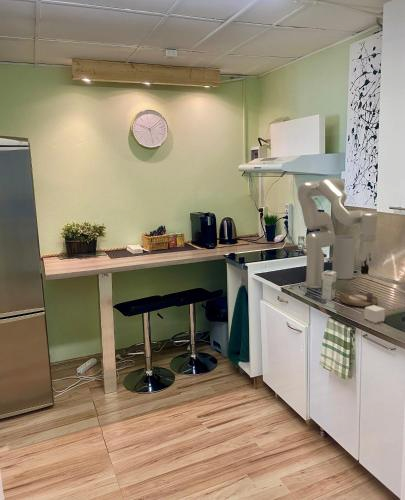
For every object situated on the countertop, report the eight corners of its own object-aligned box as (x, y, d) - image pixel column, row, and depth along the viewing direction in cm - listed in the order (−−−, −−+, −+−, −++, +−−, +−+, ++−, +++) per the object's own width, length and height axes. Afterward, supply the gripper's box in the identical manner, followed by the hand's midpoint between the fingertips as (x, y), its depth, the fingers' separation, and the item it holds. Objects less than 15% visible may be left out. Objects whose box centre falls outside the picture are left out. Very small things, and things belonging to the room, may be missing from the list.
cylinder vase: (327, 276, 260) (329, 236, 255) (343, 273, 265) (345, 234, 260) (342, 281, 249) (344, 240, 244) (357, 278, 254) (360, 237, 249)
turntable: (357, 292, 224) (357, 282, 223) (385, 302, 208) (386, 291, 207) (332, 298, 216) (332, 288, 215) (359, 308, 200) (360, 297, 199)
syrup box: (324, 295, 223) (325, 269, 220) (335, 298, 219) (336, 271, 216) (320, 298, 219) (321, 272, 216) (331, 300, 215) (332, 273, 212)
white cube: (372, 317, 192) (373, 305, 191) (384, 321, 187) (385, 308, 186) (364, 319, 189) (364, 307, 188) (375, 324, 184) (376, 311, 183)
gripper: (356, 234, 212) (353, 269, 216) (362, 240, 197) (359, 277, 201) (371, 234, 211) (368, 269, 215) (379, 241, 196) (376, 278, 200)
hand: (364, 273), depth 208 cm, fingers closed
